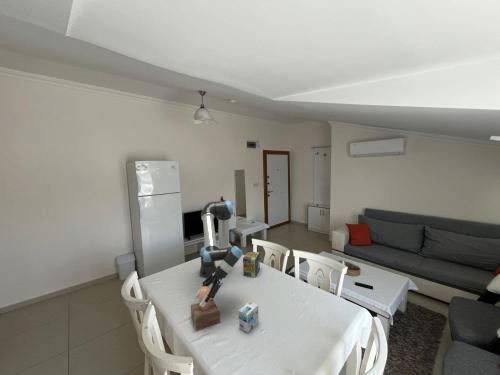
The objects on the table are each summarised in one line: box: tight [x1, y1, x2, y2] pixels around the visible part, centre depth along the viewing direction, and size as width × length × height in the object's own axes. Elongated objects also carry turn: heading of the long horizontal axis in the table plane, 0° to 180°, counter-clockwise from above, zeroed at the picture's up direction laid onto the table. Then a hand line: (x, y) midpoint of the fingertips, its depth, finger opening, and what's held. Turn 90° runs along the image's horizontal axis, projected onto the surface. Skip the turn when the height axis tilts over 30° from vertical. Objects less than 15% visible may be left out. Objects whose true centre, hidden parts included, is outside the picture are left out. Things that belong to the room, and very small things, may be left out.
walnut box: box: [190, 298, 221, 331], centre depth 131 cm, size 14×14×7 cm
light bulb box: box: [238, 301, 260, 334], centre depth 125 cm, size 11×7×11 cm, turn 143°
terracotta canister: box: [198, 285, 211, 311], centre depth 130 cm, size 6×6×12 cm
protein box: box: [242, 250, 261, 279], centre depth 185 cm, size 10×15×16 cm
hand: (199, 301), depth 128 cm, fingers open, 9 cm apart
